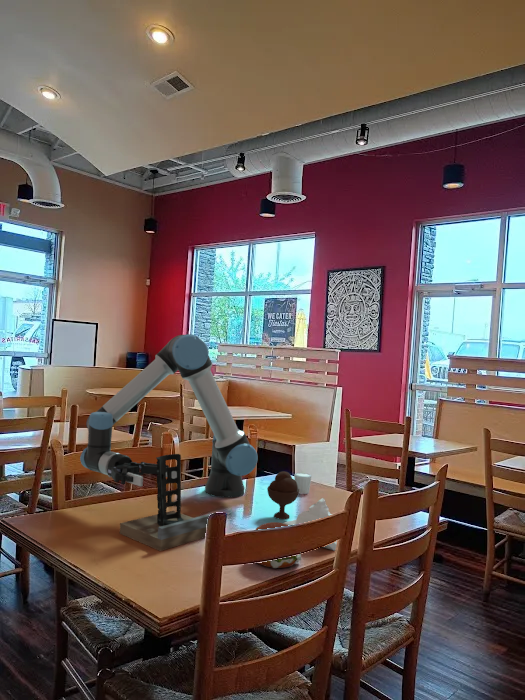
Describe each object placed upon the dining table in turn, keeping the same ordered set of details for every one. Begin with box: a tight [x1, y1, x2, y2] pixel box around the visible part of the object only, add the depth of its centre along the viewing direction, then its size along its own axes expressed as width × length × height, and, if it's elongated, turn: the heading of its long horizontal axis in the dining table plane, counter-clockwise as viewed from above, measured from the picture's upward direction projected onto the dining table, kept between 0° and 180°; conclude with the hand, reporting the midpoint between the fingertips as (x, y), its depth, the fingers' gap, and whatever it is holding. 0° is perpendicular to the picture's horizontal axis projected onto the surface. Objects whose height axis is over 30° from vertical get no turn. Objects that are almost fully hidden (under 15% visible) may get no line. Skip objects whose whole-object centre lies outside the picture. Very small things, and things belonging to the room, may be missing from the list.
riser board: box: [119, 510, 211, 552], centre depth 162 cm, size 20×18×6 cm
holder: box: [155, 453, 184, 526], centre depth 162 cm, size 11×8×20 cm
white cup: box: [293, 472, 312, 495], centre depth 222 cm, size 7×7×7 cm
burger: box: [255, 521, 302, 569], centre depth 147 cm, size 13×14×10 cm
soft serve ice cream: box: [283, 497, 337, 552], centre depth 163 cm, size 12×15×14 cm
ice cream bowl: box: [267, 470, 299, 520], centre depth 187 cm, size 11×11×15 cm
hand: (160, 478), depth 165 cm, fingers open, 13 cm apart
